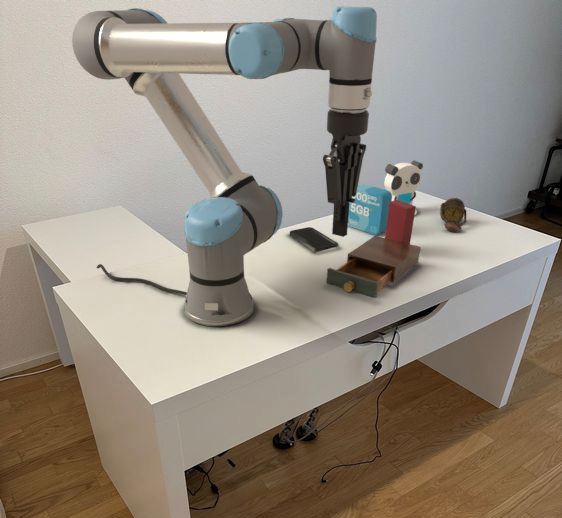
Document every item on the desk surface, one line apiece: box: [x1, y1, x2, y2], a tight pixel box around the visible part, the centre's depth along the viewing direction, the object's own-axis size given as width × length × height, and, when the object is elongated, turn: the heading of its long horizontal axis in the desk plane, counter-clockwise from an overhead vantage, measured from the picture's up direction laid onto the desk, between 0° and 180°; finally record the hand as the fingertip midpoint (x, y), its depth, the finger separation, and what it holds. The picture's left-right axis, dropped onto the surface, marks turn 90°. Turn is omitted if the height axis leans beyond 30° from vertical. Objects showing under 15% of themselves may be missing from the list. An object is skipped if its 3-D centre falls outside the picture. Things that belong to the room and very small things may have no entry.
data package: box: [348, 183, 392, 236], centre depth 159 cm, size 12×4×12 cm, turn 45°
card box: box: [384, 200, 417, 244], centre depth 145 cm, size 6×3×13 cm, turn 35°
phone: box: [289, 226, 339, 254], centre depth 153 cm, size 8×1×15 cm
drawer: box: [326, 258, 394, 299], centre depth 130 cm, size 17×13×5 cm
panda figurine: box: [383, 160, 424, 216], centre depth 171 cm, size 12×11×15 cm
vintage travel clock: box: [439, 197, 467, 233], centre depth 163 cm, size 7×13×10 cm
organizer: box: [346, 235, 422, 283], centre depth 137 cm, size 15×13×5 cm
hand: (339, 234), depth 112 cm, fingers closed
